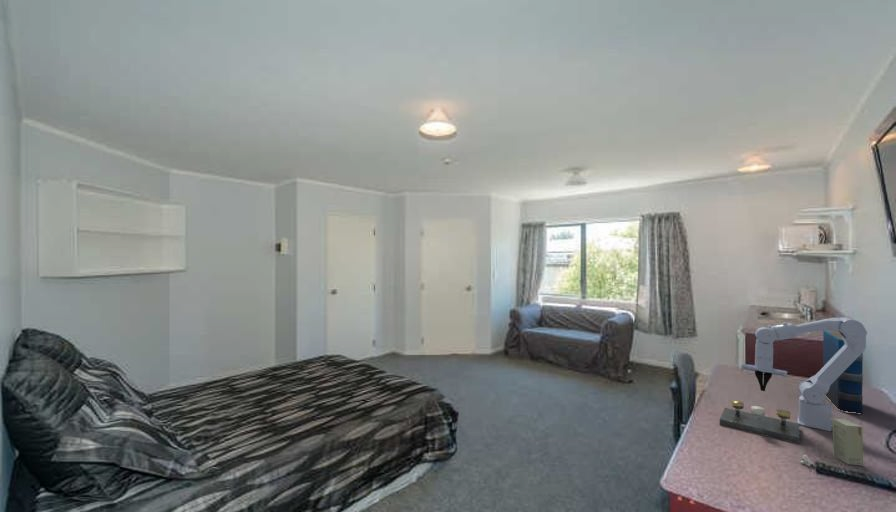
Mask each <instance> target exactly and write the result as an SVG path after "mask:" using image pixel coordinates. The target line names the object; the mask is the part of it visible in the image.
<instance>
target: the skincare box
mask: <svg viewBox="0 0 896 512" xmlns="http://www.w3.org/2000/svg"><path fill="white" fill-rule="evenodd" d="M863 441H864V440H863V426H862V425H861V424H860V425H859V424H857V423H855V422H853V421H851V420H849V419H848V418H847V419H844V418H834V417H833V418H832V447H833V448H832V455H833V456H834V457H835V458H837V459H839V460H840V461H842V462H844V463H845V464H847V465H854V466H864V444H863Z"/></svg>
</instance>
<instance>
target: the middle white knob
mask: <svg viewBox="0 0 896 512" xmlns="http://www.w3.org/2000/svg"><path fill="white" fill-rule="evenodd" d="M750 413H752V414H755V419H756V420H761V416H765V414H766V411H765V408H764V407H762V406H757V405H751V406H750Z"/></svg>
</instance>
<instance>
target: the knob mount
mask: <svg viewBox="0 0 896 512" xmlns="http://www.w3.org/2000/svg"><path fill="white" fill-rule="evenodd" d="M719 425H721V426H725V427H730V428H734V429H737V430H742V431H747V432H750V431H751V432H750V433H754V432H755V434H758V433H759V434H758V435H762V434H763V436H766V435H767V436H766V437H772V438H775V439H779V440H784V441H787V442H791V441H792V442H791V443H795V442H797V443H796V444H800V425H799V424H798V423H797V422H795V421H789V420H786V424H783V423H781V422H780V419H779V418H774V417H771V416H770V417H769V416H765V415H764V416H761V420H756V419H755V414H753V413H751V412H747V411H742V410H740V413H735V409H732V408H729V407H724V409H723V411H722V414H721V416H720V418H719Z"/></svg>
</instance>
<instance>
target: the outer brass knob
mask: <svg viewBox="0 0 896 512" xmlns="http://www.w3.org/2000/svg"><path fill="white" fill-rule="evenodd" d="M730 403H731V405H730V406H731V407H732V408H734V410H735V413H740V411H741V410H743V409H744V408H745V407H744V405H745V404H744V402H743V401H740V400H737V399H732V400H731V401H730Z"/></svg>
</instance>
